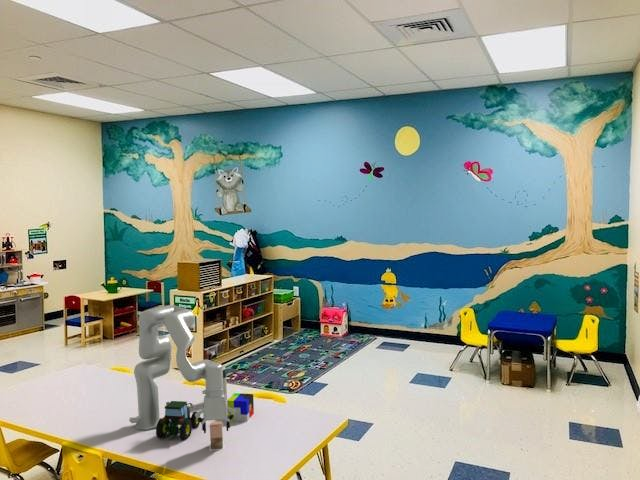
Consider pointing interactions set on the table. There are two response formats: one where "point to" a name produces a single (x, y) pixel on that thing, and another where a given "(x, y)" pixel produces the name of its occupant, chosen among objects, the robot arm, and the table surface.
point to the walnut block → (216, 443)
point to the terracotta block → (215, 429)
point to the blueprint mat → (216, 449)
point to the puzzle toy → (241, 406)
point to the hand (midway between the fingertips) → (216, 430)
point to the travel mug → (224, 382)
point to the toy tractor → (177, 420)
